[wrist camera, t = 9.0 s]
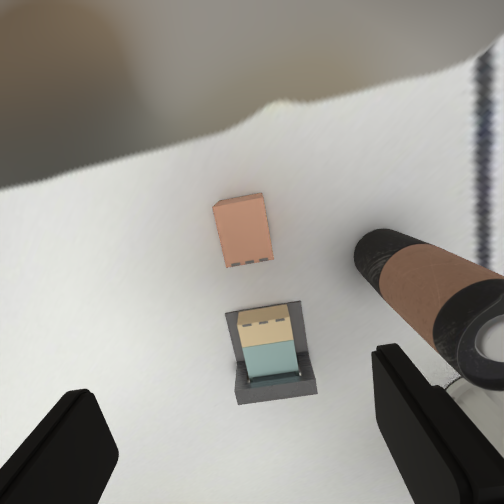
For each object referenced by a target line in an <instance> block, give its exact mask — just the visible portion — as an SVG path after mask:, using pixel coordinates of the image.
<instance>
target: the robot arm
mask: <svg viewBox="0 0 504 504" xmlns="http://www.w3.org/2000/svg"><path fill="white" fill-rule="evenodd" d="M371 356H372V370H373V384H374V398H375V411H376V420H377V423H378V427H379V429H380V431H381V433H382V436H383V438H384V440H385V442H386V444H387V446H388V448H389V450H390V452H391V455H392V457H393V459H394V461H395V463H396V465H397V467H398V469H399V471H400V474H401V476H402V478H403V480H404V482H405V484H406V486H407V488H408V490H409V493H410V495H411V497H412V499H413V501H414V503H415V504H504V391H489V390H485V389H482V388H479V387H477V386H474V385H472V384H471V383H469V382H468V381H467V380H465V379H464V378H463V377H462V378H460V379H459V380H457V381H455V382H454V383H453V384H452V385H450V386H449V387H448V388H447V390H444V389H443V388H442V387H441V386H439V385H435V386H431V385H430V384H429V382H428V381H427V380H426V379H425V377H424V376H423V375H422V374H421V372H420V371H419V370H418V369H417V367H416V366H415V365H414V364H413V363H412V361H411V360H410V359H409V358H408V356H407V355H406V354H405V353H404V351H403V350H402V349H401V348H400V346H399V345H398V344H396V343H393V344H387V345H380V346H377V348H376V351H373V352H372V353H371ZM118 457H119V451H118V448H117V446H116V443H115V441H114V439H113V436H112V434H111V432H110V430H109V427H108V425H107V423H106V420H105V418H104V416H103V414H102V411H101V409H100V407H99V405H98V402H97V400H96V398H95V395H94V394H93V393H91V392H90V391H89V390H88V389H79V390H72V391H68V392H66V393H65V394H64V395H63V396H62V397H61V399H60V400H59V401H58V402H57V403H56V404H55V406H54V407H53V408H52V409H51V410H50V411H49V413H48V414H47V415H46V416H45V417H44V418H43V420H42V421H41V422H40V423H39V424H38V425H37V427H36V428H35V429H34V430H33V431H32V432H31V434H30V435H29V436H28V437H27V438H26V439H25V441H24V442H23V443H22V444H21V445H20V446H19V448H18V449H17V450H16V451H15V452H14V453H13V455H12V456H11V457H10V458H9V459H8V460H7V462H6V463H5V464H4V465H3V466H2V468H1V469H0V504H98V502H99V500H100V498H101V495H102V493H103V491H104V489H105V487H106V485H107V483H108V481H109V479H110V477H111V474H112V472H113V470H114V468H115V466H116V464H117V461H118Z"/></svg>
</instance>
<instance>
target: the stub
mask: <svg viewBox="0 0 504 504" xmlns="http://www.w3.org/2000/svg"><path fill="white" fill-rule="evenodd" d="M212 208H213V212H214V216H215V221H216V225H217V229H218V234H219V238H220V243H221V247H222V251H223V256H224V260H225V264H226V268H228V267H233V266H239V265H245V264H251V263H256V262H262V261H268V260H273V259H274V257H273V251H272V245H271V239H270V234H269V228H268V222H267V216H266V211H265V205H264V199H263V195H262V193H257V194H252V195H247V196H242V197H237V198H231V199H226V200H221V201H219V202H217V203H216V204H215V205H214V206H213V207H212Z"/></svg>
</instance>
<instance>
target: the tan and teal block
mask: <svg viewBox="0 0 504 504" xmlns="http://www.w3.org/2000/svg"><path fill="white" fill-rule="evenodd" d="M237 327H238V331H239V336H240V340H241V344H242V349H243V354H244V358H245V362H246V366H247V371H248V375H249V379H250V383H253V377H259V376H266V375H273V374H280V373H287V372H293V371H295V373H296V376H300V375H299V370H298V364H297V358H296V352H295V346H294V340H293V334H292V328H291V322H290V316H289V312H288V307H287V304H284V305H278V306H272V307H266V308H260V309H254V310H248V311H241V312H239V313H238V322H237Z"/></svg>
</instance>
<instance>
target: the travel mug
mask: <svg viewBox="0 0 504 504" xmlns="http://www.w3.org/2000/svg"><path fill="white" fill-rule="evenodd" d="M354 262H355V265H356V267H357V269H358V270H359V272H360V273H361V274H362V275H363V276H364V278H365V279H366V280H367V281H368V282H369V283H370V284H371V285H372V287H373V288H374V289H375V290H376V291H377V292H378V293H379V294H380V295H381V297H382V298H383V299H384V300H385V301H386V302H387V303H388V304H389V305H390V306H391V307H392V308H393V309H394V310H395V311H396V312H397V313H398V314H399V315H400V316H401V317H402V318H403V319H404V320H405V321H406V322H407V323H408V324H409V325H410V326H411V327H412V328H413V329H414V330H415V331H416V332H417V333H418V334H419V335H420V336H421V337H422V338H423V339H424V340H425V341H426V342H427V343H428V344H429V345H430V346H431V347H432V348H433V349H434V350H436V351H437V352H438V353H439V354H440V355H441V356H442V357H443V358H444V359H445V360H446V361H447V362H448V363H449V364H450V365H451V366H452V367H453V368H454V369H455V370H456V371H457V372H458V373H459V374H460V375H461V376H462V377H463V378H464V379H465V380H467V381H468V382H469V383H471V384H472V385H474V386H477V387H479V388H482V389H485V390H489V391H504V276H502V275H500V274H498V273H495V272H493V271H491V270H489V269H486V268H484V267H482V266H480V265H477V264H475V263H473V262H471V261H468V260H466V259H464V258H462V257H459V256H457V255H455V254H453V253H450V252H448V251H446V250H444V249H441V248H439V247H437V246H434V245H432V244H429V243H426V242H424V241H421V240H418V239H416V238H413V237H410V236H408V235H405V234H402V233H399V232H397V231H394V230H390V229H378V230H374V231H372V232H370V233H368V234H366V235H365V236H364V237H363V238H362V239H361V240H360V241H359V243H358V244H357V246H356V248H355V252H354Z"/></svg>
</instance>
